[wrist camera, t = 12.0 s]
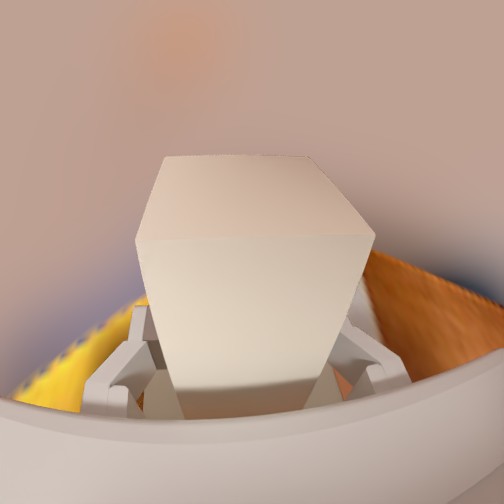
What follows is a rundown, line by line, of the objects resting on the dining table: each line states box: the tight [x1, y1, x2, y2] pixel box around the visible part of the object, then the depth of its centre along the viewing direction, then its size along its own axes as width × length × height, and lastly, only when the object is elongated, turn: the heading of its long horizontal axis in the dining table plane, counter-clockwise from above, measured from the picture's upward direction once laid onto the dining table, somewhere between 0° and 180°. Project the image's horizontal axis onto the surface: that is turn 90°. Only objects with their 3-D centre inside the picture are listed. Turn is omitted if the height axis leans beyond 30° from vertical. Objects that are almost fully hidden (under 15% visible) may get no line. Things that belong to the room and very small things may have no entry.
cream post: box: [135, 155, 376, 420], centre depth 11 cm, size 4×4×12 cm
